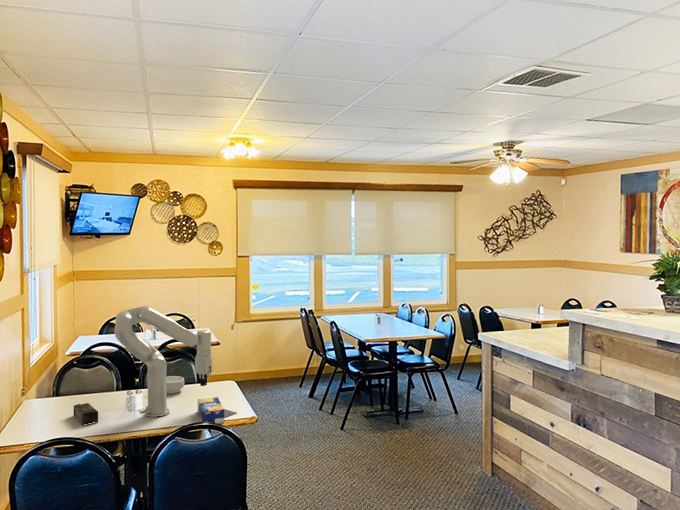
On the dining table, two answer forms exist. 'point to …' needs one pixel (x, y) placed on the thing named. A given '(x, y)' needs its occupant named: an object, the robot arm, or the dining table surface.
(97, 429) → the dining table surface
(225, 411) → the rubber mat
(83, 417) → the dark grey rectangular block
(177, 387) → the paper bowls
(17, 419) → the dining table surface
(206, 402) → the blue rectangular box
